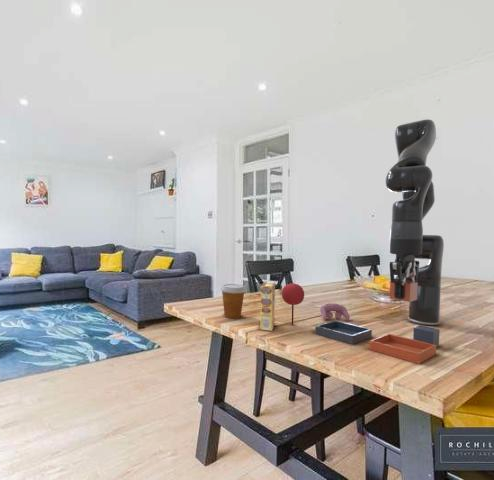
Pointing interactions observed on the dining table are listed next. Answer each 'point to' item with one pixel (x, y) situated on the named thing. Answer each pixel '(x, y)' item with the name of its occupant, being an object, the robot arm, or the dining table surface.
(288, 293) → the lollipop
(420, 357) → the terracotta tray
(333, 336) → the slate tray
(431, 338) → the slate block
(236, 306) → the disposable coffee cup
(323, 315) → the toy elephant
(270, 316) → the candy box
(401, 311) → the dining table surface
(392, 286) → the terracotta block
